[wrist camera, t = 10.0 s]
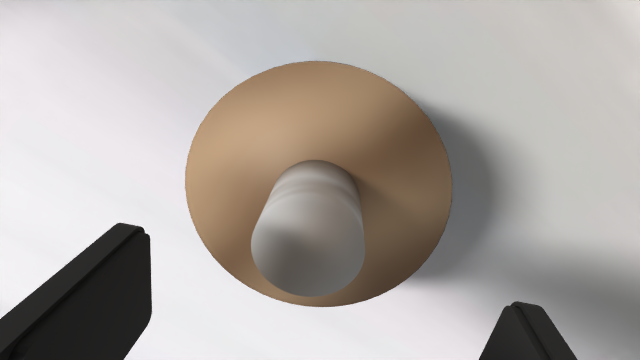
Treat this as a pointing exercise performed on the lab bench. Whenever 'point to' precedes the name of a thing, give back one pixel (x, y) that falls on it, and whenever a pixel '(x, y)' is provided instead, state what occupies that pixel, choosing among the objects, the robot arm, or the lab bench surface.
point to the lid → (318, 184)
